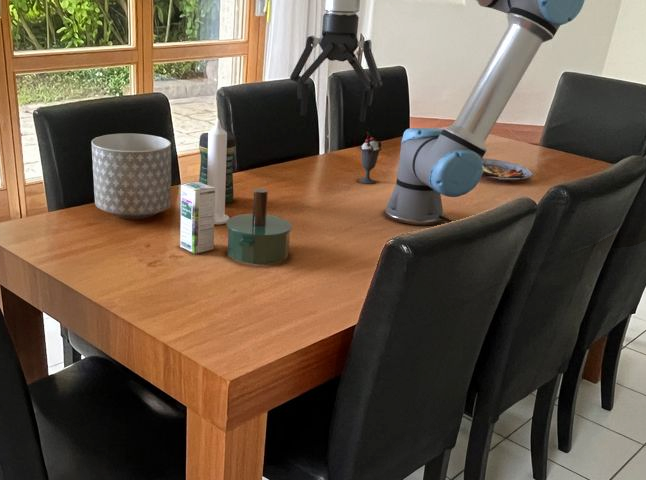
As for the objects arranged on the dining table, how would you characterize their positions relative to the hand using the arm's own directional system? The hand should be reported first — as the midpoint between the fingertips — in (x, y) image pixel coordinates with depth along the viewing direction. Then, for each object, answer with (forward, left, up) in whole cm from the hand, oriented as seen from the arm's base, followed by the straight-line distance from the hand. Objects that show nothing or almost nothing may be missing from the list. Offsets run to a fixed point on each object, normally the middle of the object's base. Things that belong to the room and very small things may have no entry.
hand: (332, 117), depth 168 cm
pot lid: (+10, +19, -21) cm, 30 cm away
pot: (+10, +18, -28) cm, 35 cm away
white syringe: (+28, -1, -28) cm, 40 cm away
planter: (+48, +5, -28) cm, 56 cm away
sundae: (+1, -58, -28) cm, 64 cm away
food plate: (-35, -88, -28) cm, 98 cm away
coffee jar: (+34, -16, -28) cm, 47 cm away
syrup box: (+24, +21, -28) cm, 42 cm away
